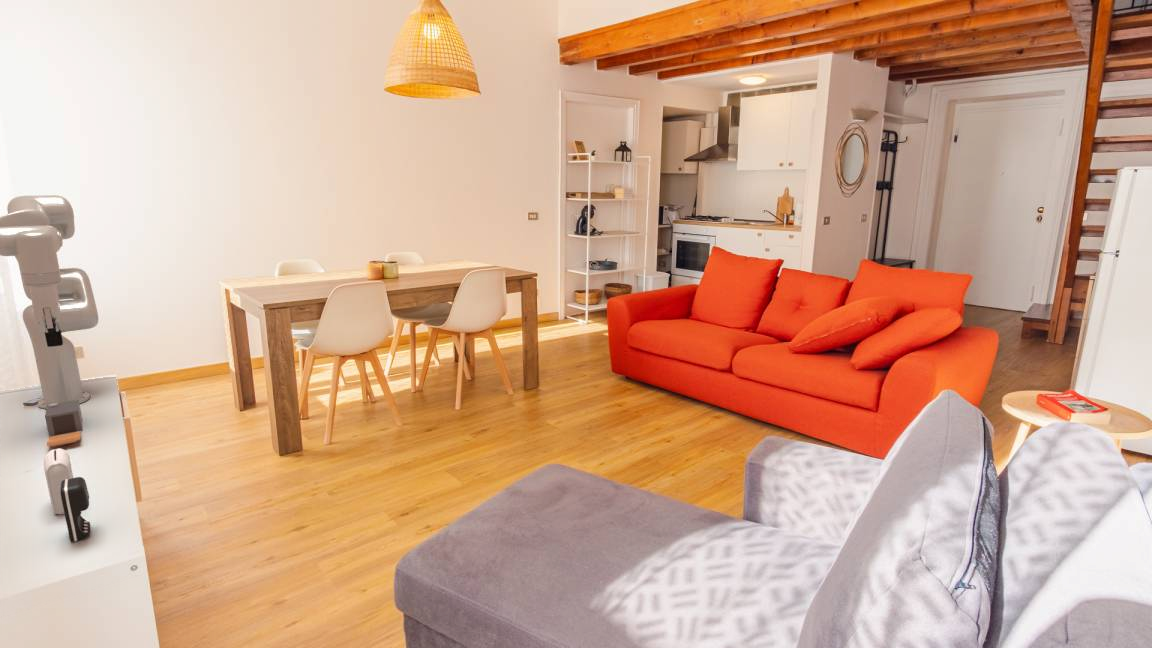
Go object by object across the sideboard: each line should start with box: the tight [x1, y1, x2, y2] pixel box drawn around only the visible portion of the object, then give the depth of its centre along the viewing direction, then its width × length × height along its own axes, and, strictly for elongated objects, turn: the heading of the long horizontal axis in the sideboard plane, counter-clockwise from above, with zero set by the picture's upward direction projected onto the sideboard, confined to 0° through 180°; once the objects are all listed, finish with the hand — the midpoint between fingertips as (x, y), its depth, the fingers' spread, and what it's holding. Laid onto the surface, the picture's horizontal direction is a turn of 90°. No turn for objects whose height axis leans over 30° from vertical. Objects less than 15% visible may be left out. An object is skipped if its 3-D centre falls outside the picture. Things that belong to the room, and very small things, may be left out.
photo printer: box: [43, 448, 74, 515], centre depth 134 cm, size 10×4×12 cm, turn 39°
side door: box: [45, 431, 82, 448], centre depth 163 cm, size 1×7×12 cm
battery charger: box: [60, 476, 91, 543], centre depth 124 cm, size 7×4×11 cm, turn 37°
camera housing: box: [44, 400, 83, 438], centre depth 171 cm, size 10×7×8 cm
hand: (55, 345), depth 166 cm, fingers closed
